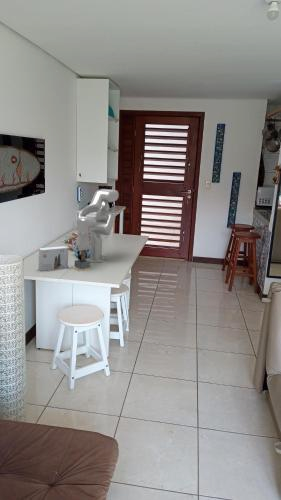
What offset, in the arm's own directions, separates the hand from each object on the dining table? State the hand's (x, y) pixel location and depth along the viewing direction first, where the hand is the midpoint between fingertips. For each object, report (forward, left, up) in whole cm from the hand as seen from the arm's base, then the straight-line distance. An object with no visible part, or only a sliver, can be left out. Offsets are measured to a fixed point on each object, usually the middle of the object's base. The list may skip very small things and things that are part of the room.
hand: (82, 258), depth 282 cm
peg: (0, 0, -1) cm, 1 cm away
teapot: (-21, -26, -7) cm, 34 cm away
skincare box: (+18, -10, -7) cm, 22 cm away
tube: (0, 0, -7) cm, 7 cm away
